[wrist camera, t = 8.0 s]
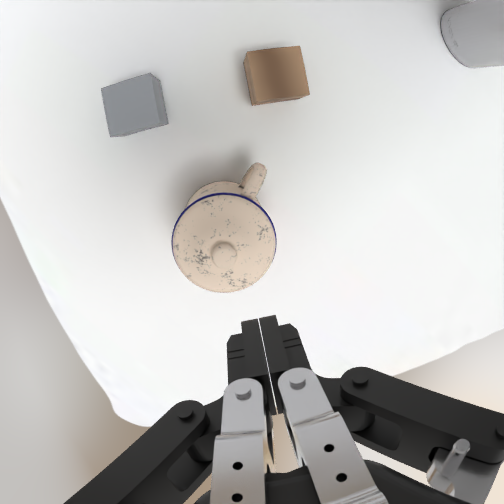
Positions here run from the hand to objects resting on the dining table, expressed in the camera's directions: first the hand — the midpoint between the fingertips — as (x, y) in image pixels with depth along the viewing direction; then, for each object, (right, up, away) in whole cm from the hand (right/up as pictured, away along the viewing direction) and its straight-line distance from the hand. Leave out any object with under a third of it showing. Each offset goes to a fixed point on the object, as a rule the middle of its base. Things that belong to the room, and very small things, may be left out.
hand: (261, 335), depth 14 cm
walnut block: (+2, +22, +17) cm, 28 cm away
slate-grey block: (-12, +19, +17) cm, 28 cm away
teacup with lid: (-3, +9, +22) cm, 24 cm away
